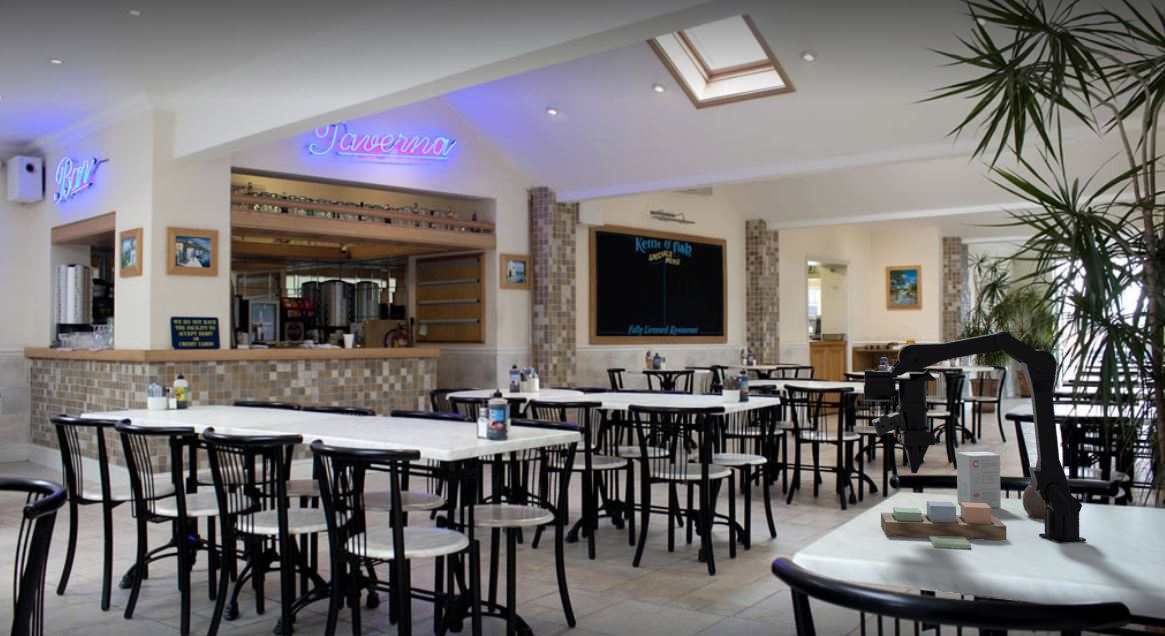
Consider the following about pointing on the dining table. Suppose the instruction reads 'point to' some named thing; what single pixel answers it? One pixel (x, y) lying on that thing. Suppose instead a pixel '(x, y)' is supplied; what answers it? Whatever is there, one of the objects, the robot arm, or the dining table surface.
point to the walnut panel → (943, 528)
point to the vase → (1033, 503)
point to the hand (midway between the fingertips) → (913, 473)
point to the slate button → (941, 511)
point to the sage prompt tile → (949, 541)
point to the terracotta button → (975, 513)
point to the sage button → (907, 514)
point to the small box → (978, 478)
